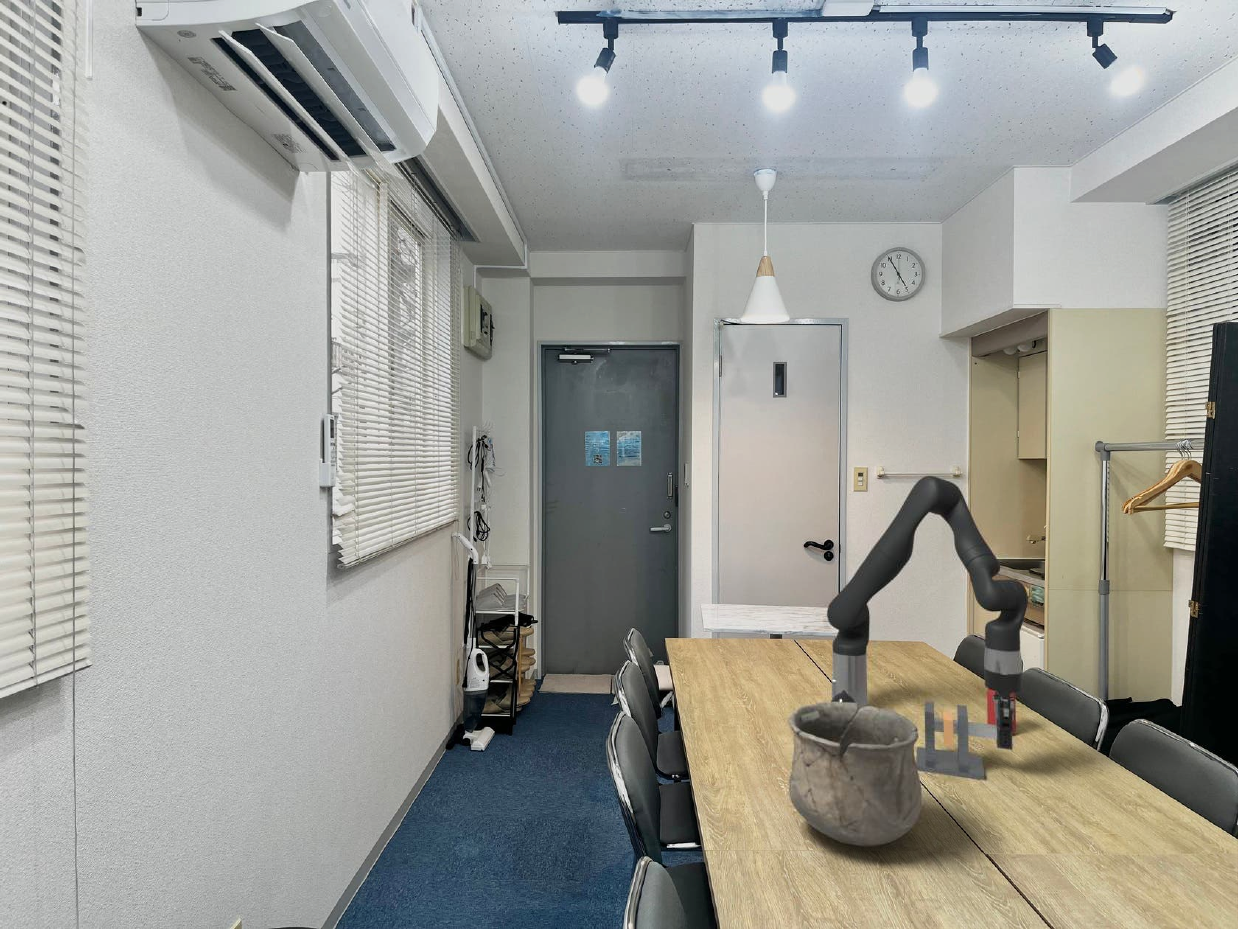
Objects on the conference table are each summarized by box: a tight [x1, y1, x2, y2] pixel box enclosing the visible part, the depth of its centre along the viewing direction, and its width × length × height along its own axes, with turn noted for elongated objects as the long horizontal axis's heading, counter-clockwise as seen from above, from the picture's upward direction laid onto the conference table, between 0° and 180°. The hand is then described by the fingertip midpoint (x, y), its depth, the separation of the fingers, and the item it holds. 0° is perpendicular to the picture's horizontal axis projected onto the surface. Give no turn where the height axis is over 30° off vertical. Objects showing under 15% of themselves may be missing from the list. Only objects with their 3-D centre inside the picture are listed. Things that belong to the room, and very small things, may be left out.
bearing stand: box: [915, 700, 985, 781], centre depth 163 cm, size 14×12×13 cm
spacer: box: [942, 711, 955, 747], centre depth 163 cm, size 2×6×6 cm, turn 155°
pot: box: [787, 701, 923, 847], centre depth 133 cm, size 25×24×21 cm
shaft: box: [934, 717, 1014, 751], centre depth 162 cm, size 18×3×6 cm, turn 66°
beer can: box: [986, 688, 1017, 736], centre depth 183 cm, size 7×7×12 cm
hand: (1004, 743), depth 159 cm, fingers closed on shaft, 3 cm apart
